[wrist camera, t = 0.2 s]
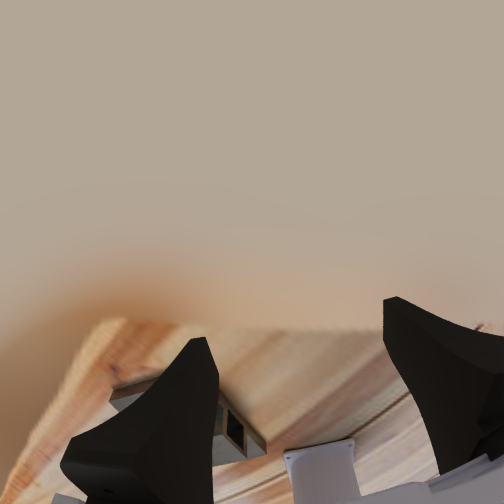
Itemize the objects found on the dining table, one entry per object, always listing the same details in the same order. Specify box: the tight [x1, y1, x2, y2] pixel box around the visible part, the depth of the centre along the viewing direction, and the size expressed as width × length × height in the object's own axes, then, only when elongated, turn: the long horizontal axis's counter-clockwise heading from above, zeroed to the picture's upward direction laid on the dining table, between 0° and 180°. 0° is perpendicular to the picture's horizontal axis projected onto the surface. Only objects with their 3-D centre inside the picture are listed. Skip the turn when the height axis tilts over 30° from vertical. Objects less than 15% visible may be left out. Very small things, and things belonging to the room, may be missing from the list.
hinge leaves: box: [109, 377, 267, 467], centre depth 25 cm, size 13×10×4 cm
